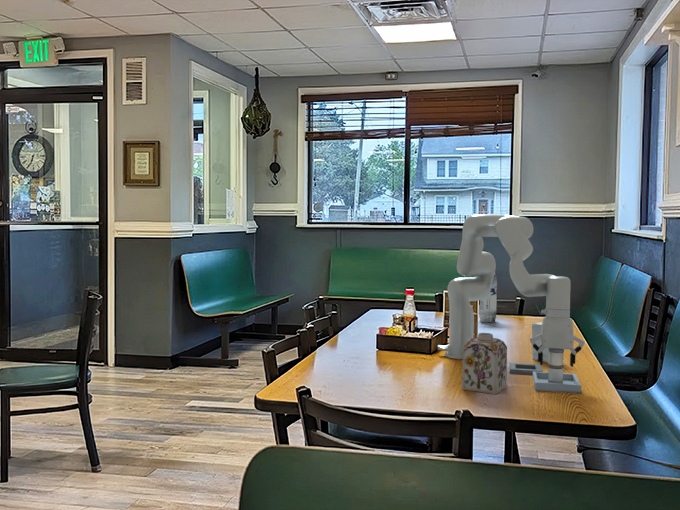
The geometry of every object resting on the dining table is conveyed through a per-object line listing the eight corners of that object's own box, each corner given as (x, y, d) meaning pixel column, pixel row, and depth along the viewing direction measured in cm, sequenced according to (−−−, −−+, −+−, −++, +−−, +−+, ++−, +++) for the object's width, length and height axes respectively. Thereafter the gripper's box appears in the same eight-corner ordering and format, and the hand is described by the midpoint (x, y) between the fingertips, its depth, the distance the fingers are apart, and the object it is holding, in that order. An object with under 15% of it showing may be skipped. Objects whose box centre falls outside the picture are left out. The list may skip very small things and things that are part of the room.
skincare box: (558, 362, 256) (559, 324, 255) (548, 364, 252) (549, 325, 251) (541, 358, 263) (542, 321, 262) (530, 360, 259) (531, 322, 258)
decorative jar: (473, 382, 224) (474, 329, 223) (507, 387, 218) (508, 332, 217) (460, 390, 214) (461, 334, 213) (496, 395, 208) (497, 338, 207)
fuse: (548, 385, 219) (549, 349, 218) (547, 381, 223) (548, 346, 223) (563, 385, 217) (564, 349, 217) (562, 382, 222) (563, 346, 221)
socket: (509, 374, 235) (510, 369, 235) (509, 366, 248) (509, 361, 248) (542, 376, 232) (542, 371, 232) (539, 368, 245) (540, 362, 245)
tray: (535, 390, 214) (535, 382, 214) (532, 378, 230) (532, 371, 230) (580, 393, 211) (581, 385, 211) (575, 381, 226) (575, 373, 226)
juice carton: (479, 322, 351) (480, 271, 349) (478, 319, 361) (479, 270, 359) (496, 323, 349) (497, 272, 348) (495, 320, 359) (496, 270, 358)
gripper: (531, 314, 217) (529, 366, 218) (586, 316, 213) (585, 369, 214) (529, 311, 225) (528, 361, 226) (583, 313, 221) (582, 364, 222)
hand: (556, 365), depth 220 cm, fingers open, 9 cm apart
